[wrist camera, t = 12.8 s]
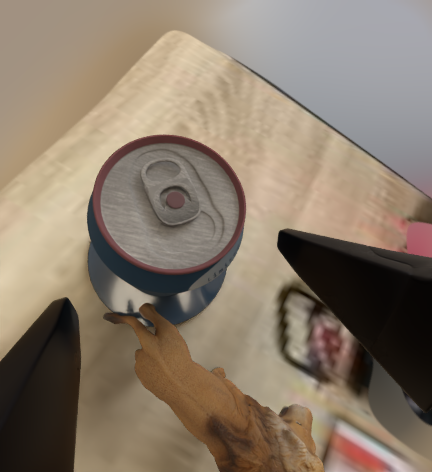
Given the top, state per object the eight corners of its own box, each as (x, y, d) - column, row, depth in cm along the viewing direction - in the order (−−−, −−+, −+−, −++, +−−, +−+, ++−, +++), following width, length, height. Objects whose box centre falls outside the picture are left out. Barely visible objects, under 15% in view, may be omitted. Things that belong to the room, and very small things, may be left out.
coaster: (240, 302, 21) (243, 302, 20) (102, 347, 17) (100, 349, 16) (207, 188, 23) (209, 185, 23) (79, 205, 19) (77, 202, 19)
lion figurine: (264, 378, 20) (358, 442, 12) (236, 444, 18) (324, 579, 10) (127, 285, 18) (122, 284, 9) (76, 350, 16) (14, 420, 7)
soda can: (214, 276, 20) (288, 247, 9) (139, 311, 18) (113, 331, 7) (184, 209, 21) (217, 109, 10) (109, 234, 19) (43, 139, 8)
